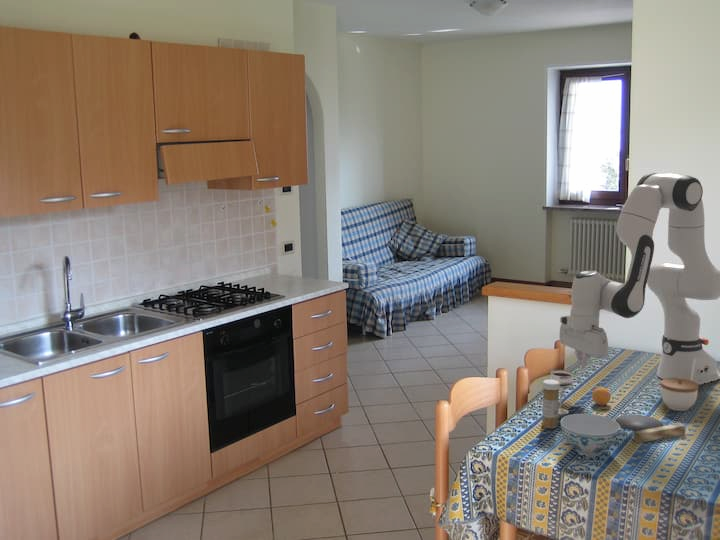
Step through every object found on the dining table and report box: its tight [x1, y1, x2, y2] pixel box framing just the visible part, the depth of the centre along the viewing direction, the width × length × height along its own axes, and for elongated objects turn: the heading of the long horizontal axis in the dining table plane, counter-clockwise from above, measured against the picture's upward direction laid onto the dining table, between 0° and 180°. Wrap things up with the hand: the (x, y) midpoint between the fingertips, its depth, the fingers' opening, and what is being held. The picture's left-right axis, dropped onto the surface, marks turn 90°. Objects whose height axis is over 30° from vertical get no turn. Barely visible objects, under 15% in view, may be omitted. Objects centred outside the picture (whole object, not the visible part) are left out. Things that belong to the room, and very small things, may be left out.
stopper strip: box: [633, 422, 686, 444], centre depth 213 cm, size 16×2×2 cm, turn 111°
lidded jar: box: [659, 378, 700, 412], centre depth 236 cm, size 11×11×9 cm
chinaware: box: [560, 413, 621, 457], centre depth 204 cm, size 15×15×8 cm
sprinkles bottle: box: [541, 378, 560, 429], centre depth 221 cm, size 5×5×14 cm
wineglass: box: [549, 369, 574, 415], centre depth 233 cm, size 7×7×12 cm
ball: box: [591, 386, 611, 406], centre depth 239 cm, size 6×6×6 cm
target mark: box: [614, 414, 664, 432], centre depth 224 cm, size 13×13×1 cm
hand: (582, 364), depth 246 cm, fingers closed
